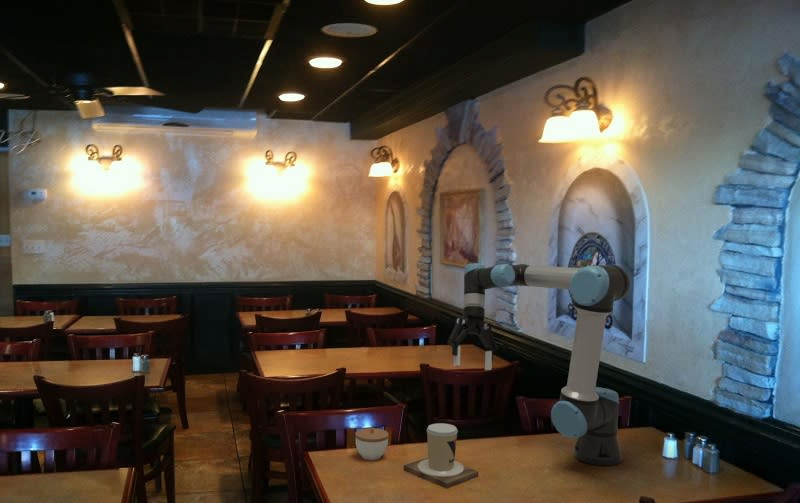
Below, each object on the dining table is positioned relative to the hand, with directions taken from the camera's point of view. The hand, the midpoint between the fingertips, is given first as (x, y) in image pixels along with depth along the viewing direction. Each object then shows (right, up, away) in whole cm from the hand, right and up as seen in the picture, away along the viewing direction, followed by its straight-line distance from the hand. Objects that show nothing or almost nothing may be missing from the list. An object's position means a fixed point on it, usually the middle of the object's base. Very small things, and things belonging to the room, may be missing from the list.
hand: (472, 368), depth 240 cm
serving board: (-13, -28, -27) cm, 41 cm away
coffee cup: (-13, -26, -27) cm, 40 cm away
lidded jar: (-34, -26, -15) cm, 46 cm away
